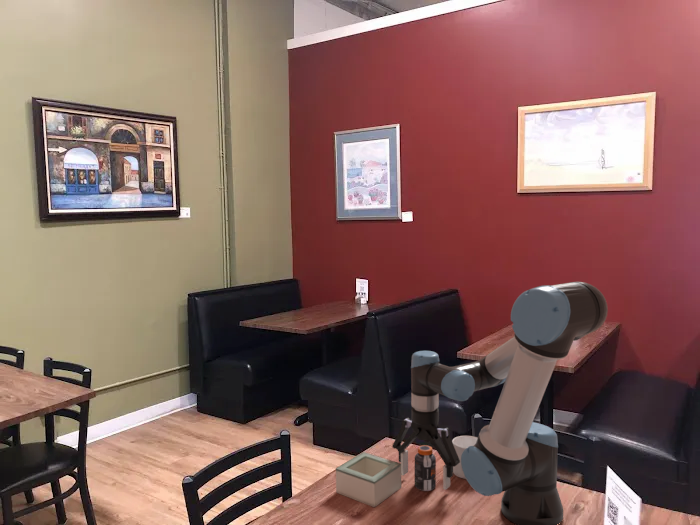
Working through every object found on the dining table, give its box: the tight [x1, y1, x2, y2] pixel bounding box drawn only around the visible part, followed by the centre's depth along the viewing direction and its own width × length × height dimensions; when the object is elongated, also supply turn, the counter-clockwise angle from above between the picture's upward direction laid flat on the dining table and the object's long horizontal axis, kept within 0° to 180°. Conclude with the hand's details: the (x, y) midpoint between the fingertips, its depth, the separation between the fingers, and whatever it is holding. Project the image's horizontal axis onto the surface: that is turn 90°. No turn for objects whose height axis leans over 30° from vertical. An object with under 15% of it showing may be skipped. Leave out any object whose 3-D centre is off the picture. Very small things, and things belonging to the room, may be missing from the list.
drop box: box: [335, 451, 402, 508], centre depth 159 cm, size 13×13×7 cm
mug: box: [451, 435, 478, 480], centre depth 170 cm, size 12×9×9 cm
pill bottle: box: [414, 444, 437, 492], centre depth 161 cm, size 6×6×11 cm
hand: (425, 480), depth 161 cm, fingers open, 13 cm apart
